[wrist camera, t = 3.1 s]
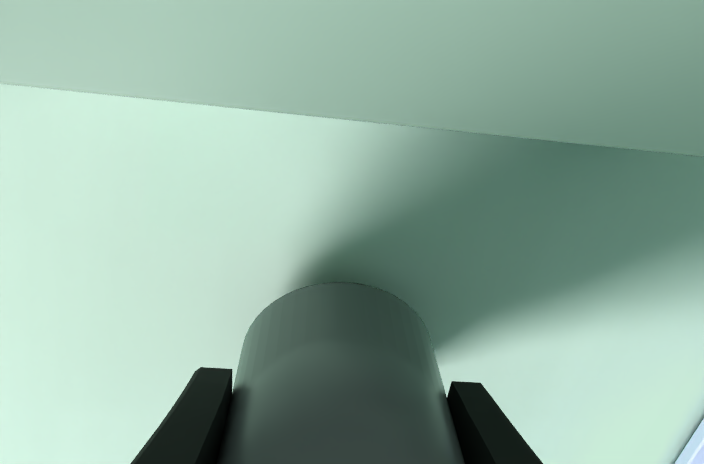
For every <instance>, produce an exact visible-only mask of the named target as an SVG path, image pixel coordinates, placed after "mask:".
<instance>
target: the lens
mask: <svg viewBox="0 0 704 464" xmlns="http://www.w3.org/2000/svg"><path fill="white" fill-rule="evenodd" d="M217 464H465V462H464V458H463V455H462V451H461V448H460V444H459V440H458V437H457V433H456V430H455V426H454V422H453V419H452V415H451V412H450V408H449V404H448V401H447V397H446V394H445V390H444V386H443V383H442V379H441V376H440V372H439V368H438V365H437V361H436V358H435V354H434V350H433V347H432V343H431V340H430V337H429V334H428V331H427V329H426V327H425V325H424V323H423V321H422V320H421V319H420V317H419V316H418V315H417V314H416V312H415V311H414V310H413V309H412V308H411V307H409V306H408V305H407V304H406V303H405V302H403V301H402V300H400V299H399V298H397V297H395V296H394V295H392V294H390V293H388V292H386V291H383V290H380V289H378V288H375V287H371V286H367V285H363V284H356V283H345V282H333V283H322V284H317V285H312V286H307V287H304V288H301V289H298V290H295V291H293V292H291V293H288V294H286V295H284V296H282V297H281V298H279V299H277V300H276V301H274V302H273V303H271V304H270V305H269V306H268V307H267V308H265V309H264V310H263V311H262V312H261V313H260V314H259V315H258V316H257V318H256V319H255V320H254V322H253V323H252V325H251V326H250V328H249V330H248V332H247V334H246V336H245V340H244V343H243V347H242V351H241V356H240V360H239V365H238V369H237V374H236V378H235V383H234V387H233V392H232V397H231V401H230V406H229V410H228V415H227V419H226V424H225V428H224V433H223V437H222V441H221V446H220V450H219V455H218V459H217Z"/></svg>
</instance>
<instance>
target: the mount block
mask: <svg viewBox="0 0 704 464" xmlns="http://www.w3.org/2000/svg"><path fill="white" fill-rule="evenodd" d="M0 84H8V85H18V86H28V87H37V88H47V89H56V90H66V91H76V92H85V93H95V94H105V95H114V96H124V97H133V98H143V99H153V100H162V101H172V102H181V103H191V104H201V105H210V106H220V107H229V108H239V109H249V110H258V111H268V112H277V113H287V114H297V115H306V116H316V117H325V118H335V119H345V120H354V121H364V122H374V123H383V124H393V125H402V126H412V127H422V128H431V129H441V130H450V131H460V132H470V133H479V134H489V135H498V136H508V137H518V138H527V139H537V140H546V141H556V142H566V143H575V144H585V145H594V146H604V147H614V148H623V149H633V150H643V151H652V152H662V153H671V154H681V155H691V156H700V157H704V0H0Z"/></svg>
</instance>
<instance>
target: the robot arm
mask: <svg viewBox="0 0 704 464" xmlns="http://www.w3.org/2000/svg"><path fill="white" fill-rule="evenodd" d="M231 397H232V369H221V368H203V367H201V368H199V369H198V370H196V371H195V373H194V374H193V376H192V378H191V379H190V381H189V383H188V384H187V386H186V387H185V389H184V391H183V392H182V394H181V395H180V397H179V398H178V400H177V401H176V403H175V404H174V406H173V407H172V409H171V410H170V411H169V413H168V414H167V416H166V417H165V418H164V420H163V421H162V423H161V424H160V426H159V427H158V428H157V430H156V431H155V432H154V434H153V435H152V436H151V438H150V439H149V440H148V441H147V443H146V444H145V445H144V447H143V448H142V449H141V451H140V452H139V453H138V455H137V456H136V457H135V459H134V460H133V461H132V462H131V464H217V459H218V455H219V450H220V446H221V441H222V437H223V433H224V428H225V424H226V419H227V415H228V410H229V406H230V401H231ZM447 401H448V404H449V408H450V412H451V415H452V419H453V422H454V426H455V430H456V433H457V437H458V440H459V444H460V448H461V451H462V455H463V458H464V462H465V464H543V463H542V462H541V460H540V459H539V458H538V457H537V456H536V454H535V453H534V452H533V451H532V449H531V448H530V447H529V445H528V444H527V443H526V442H525V440H524V439H523V438H522V436H521V435H520V434H519V433H518V431H517V430H516V429H515V427H514V426H513V425H512V423H511V422H510V421H509V419H508V418H507V417H506V416H505V414H504V413H503V412H502V410H501V409H500V408H499V406H498V405H497V404H496V402H495V401H494V400H493V398H492V397H491V396H490V394H489V393H488V392H487V390H486V389H485V388H484V387H483V385H482V384H481V383H473V382H455V381H452V383H451V386H450V390H449V393H448V397H447ZM674 464H704V418H703V420H702V422H701V423H700V425H699V426H698V428H697V429H696V431H695V432H694V434H693V436H692V437H691V439H690V440H689V442H688V443H687V445H686V446H685V448H684V449H683V451H682V453H681V454H680V456H679V457H678V459H677V460H676V462H675V463H674Z"/></svg>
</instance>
